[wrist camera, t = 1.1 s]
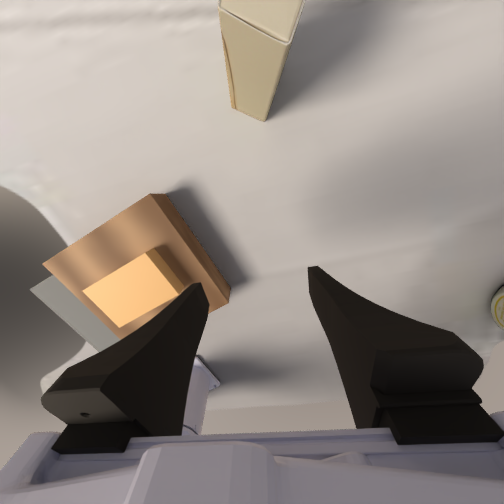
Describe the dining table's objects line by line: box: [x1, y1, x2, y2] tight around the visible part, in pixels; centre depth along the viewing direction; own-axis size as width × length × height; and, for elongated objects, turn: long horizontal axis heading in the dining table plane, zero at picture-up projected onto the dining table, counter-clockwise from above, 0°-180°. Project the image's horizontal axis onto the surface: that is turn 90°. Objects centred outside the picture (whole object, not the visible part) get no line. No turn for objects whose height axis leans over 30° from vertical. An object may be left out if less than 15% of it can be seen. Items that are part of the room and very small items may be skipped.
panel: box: [43, 194, 231, 340], centre depth 25 cm, size 16×16×4 cm
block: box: [83, 248, 184, 328], centre depth 22 cm, size 9×6×2 cm, turn 120°
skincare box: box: [218, 0, 306, 122], centre depth 14 cm, size 6×4×12 cm
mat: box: [30, 275, 120, 352], centre depth 28 cm, size 9×14×1 cm, turn 30°
